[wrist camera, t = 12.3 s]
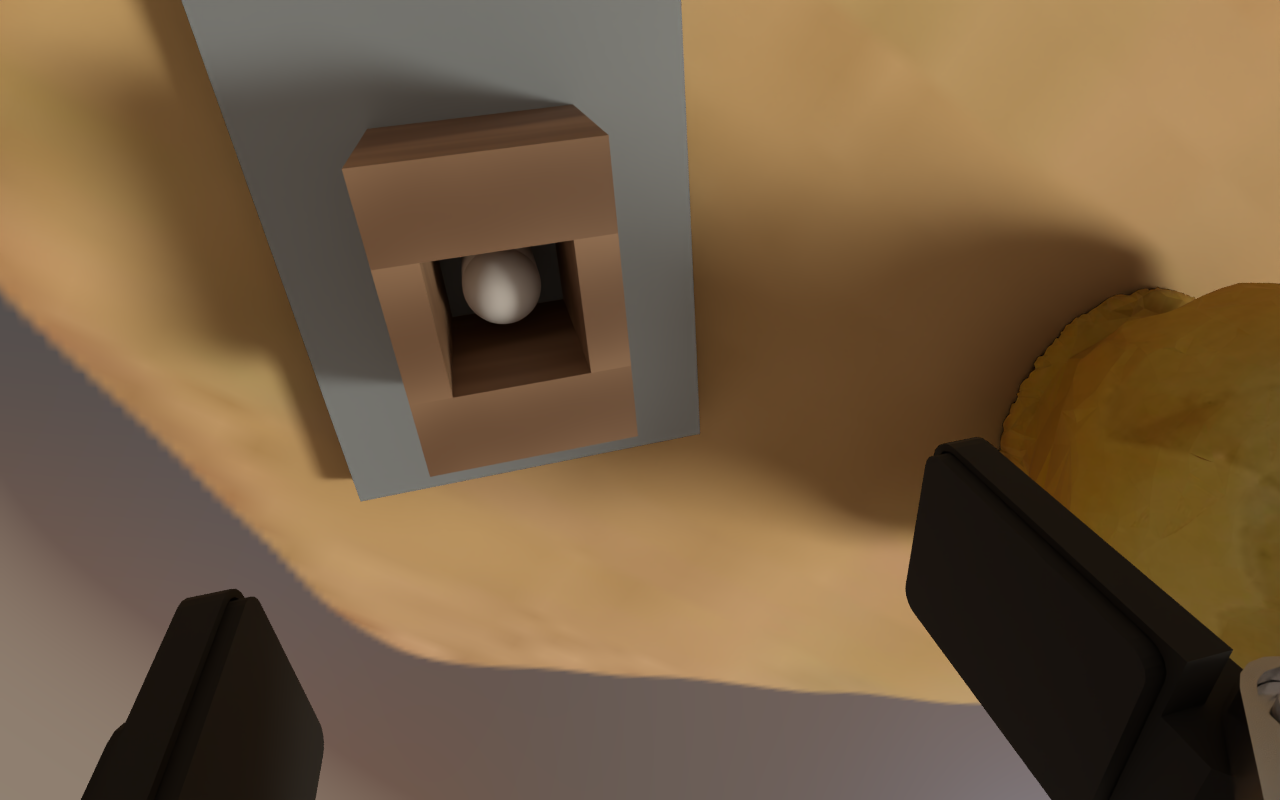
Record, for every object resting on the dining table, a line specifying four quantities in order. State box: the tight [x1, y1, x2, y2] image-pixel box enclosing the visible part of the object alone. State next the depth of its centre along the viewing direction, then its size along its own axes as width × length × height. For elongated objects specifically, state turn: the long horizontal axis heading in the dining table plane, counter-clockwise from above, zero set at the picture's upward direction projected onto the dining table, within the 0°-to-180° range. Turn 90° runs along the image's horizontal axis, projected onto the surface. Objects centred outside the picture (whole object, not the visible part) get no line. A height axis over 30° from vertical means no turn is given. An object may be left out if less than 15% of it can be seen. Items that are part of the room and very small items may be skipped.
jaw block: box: [342, 104, 638, 477], centre depth 22 cm, size 9×6×6 cm
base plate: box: [182, 0, 700, 501], centre depth 23 cm, size 18×14×6 cm
